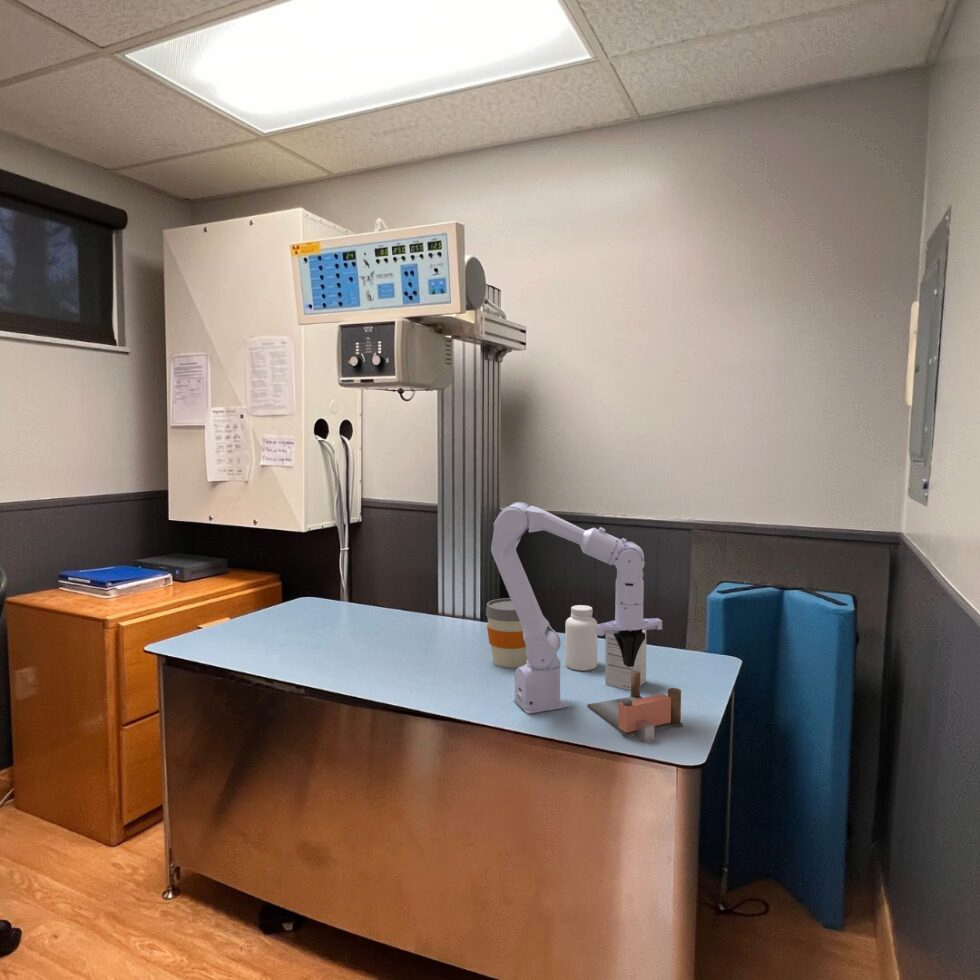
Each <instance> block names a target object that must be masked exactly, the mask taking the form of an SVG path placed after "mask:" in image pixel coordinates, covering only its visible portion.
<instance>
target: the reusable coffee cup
mask: <svg viewBox="0 0 980 980" xmlns="http://www.w3.org/2000/svg"><path fill="white" fill-rule="evenodd" d="M485 616H486V617H487V623H488V624H487V626H486V627H487V636H488V643H489V644H490V646H491V647H490V648H491V653H492V661H493V663H494V664H495V665H496V666H499V667H501V668H518V667H521V666H524V665H525V664H527V658H526V644H525V642H524V639H523V628H522V625H521V622H520V620H519V617H518V615H517V613H516V610H515V608H514V605H513V603H512V601H511V598H510V597H507V598H505V597H504V598H497V599H493V600H489V601H488V602H487V603H486V610H485Z"/></svg>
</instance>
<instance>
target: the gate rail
mask: <svg viewBox="0 0 980 980" xmlns="http://www.w3.org/2000/svg"><path fill="white" fill-rule="evenodd" d="M641 720H647V721H648V722H650V723H651V724H653V725H654V726H657V725H661V724H665V723H669V722H671V698H670V697H669V696H668V694H665V693H661V694H656V695H655V694H654V695H650V696H646V697H643V698H640V699H636V700H630V699H623V702H622V703H619V728H620V729H621V730H623V731H624V732H626V733H627V732H631V731H635V730H637V721H641Z"/></svg>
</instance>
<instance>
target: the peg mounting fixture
mask: <svg viewBox="0 0 980 980" xmlns="http://www.w3.org/2000/svg"><path fill="white" fill-rule="evenodd" d="M667 696H669V697H670V698H671V722H669V723H665V724H661V725H657V726H654V733H655V732H659V731H660V732H661V731H664V730H670V729H676V728H680V727H683V724H684V723H683V722H682V720H681V716H682V714H681V713H682V690H681V689H680V688H678V687H677V688H676V687H669V688H668V689H667ZM640 698H644V697H642V695H641V686H640V672H639V671H631V690H630V696H628V697H623V698H616V699H611V700H610V699H609V700H605V701H604V700H603V701H598V702H593V703H588V704H586V705H587V708H588V709H589V710H591V711H592V712H593V713H595V715H596V716H598V717H600V718H601V719H602V720H604V721H605V722H606V723H608V724H609V725H610V726H611V727H612V728H614V729H615V730H617V731H618V732H619V733H621V734H622V735H624V737H626V738H628V737H634V736H637V730H635V731H631V732H627V733H626V732H624V731H623V730H621V729H620V728H619V703H622V702H623V699H630V700H636V699H640Z"/></svg>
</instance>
